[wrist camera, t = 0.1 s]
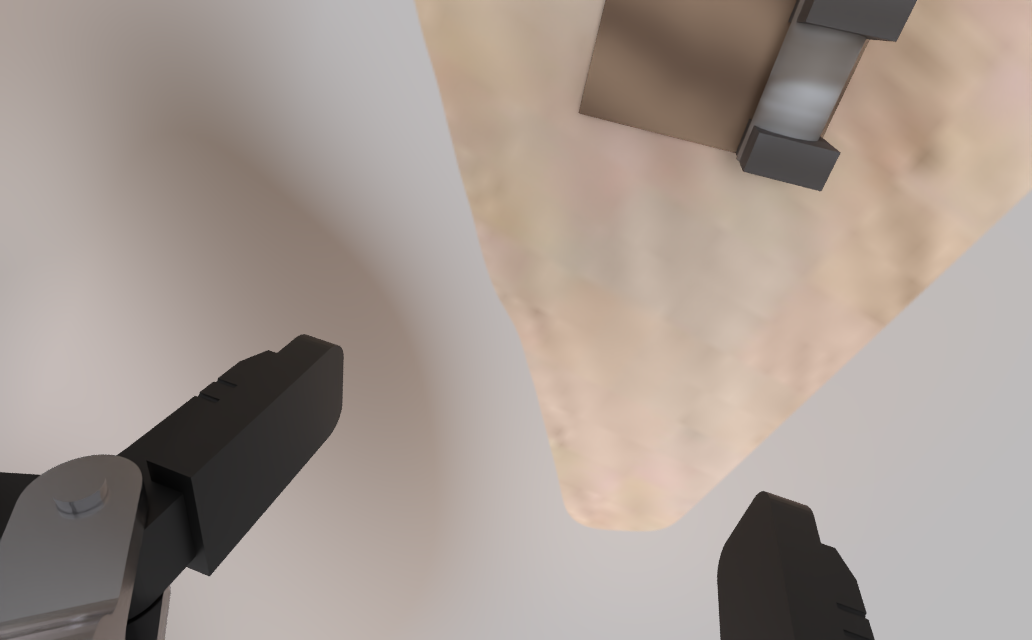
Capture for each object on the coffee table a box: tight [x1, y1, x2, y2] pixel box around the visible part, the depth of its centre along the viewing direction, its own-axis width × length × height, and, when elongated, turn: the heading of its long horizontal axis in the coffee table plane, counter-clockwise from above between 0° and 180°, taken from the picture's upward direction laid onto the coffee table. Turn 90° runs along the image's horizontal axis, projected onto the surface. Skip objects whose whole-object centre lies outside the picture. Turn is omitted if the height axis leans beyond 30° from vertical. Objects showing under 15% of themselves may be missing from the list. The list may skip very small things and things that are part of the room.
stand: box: [579, 0, 917, 191], centre depth 29 cm, size 9×14×6 cm, turn 79°
